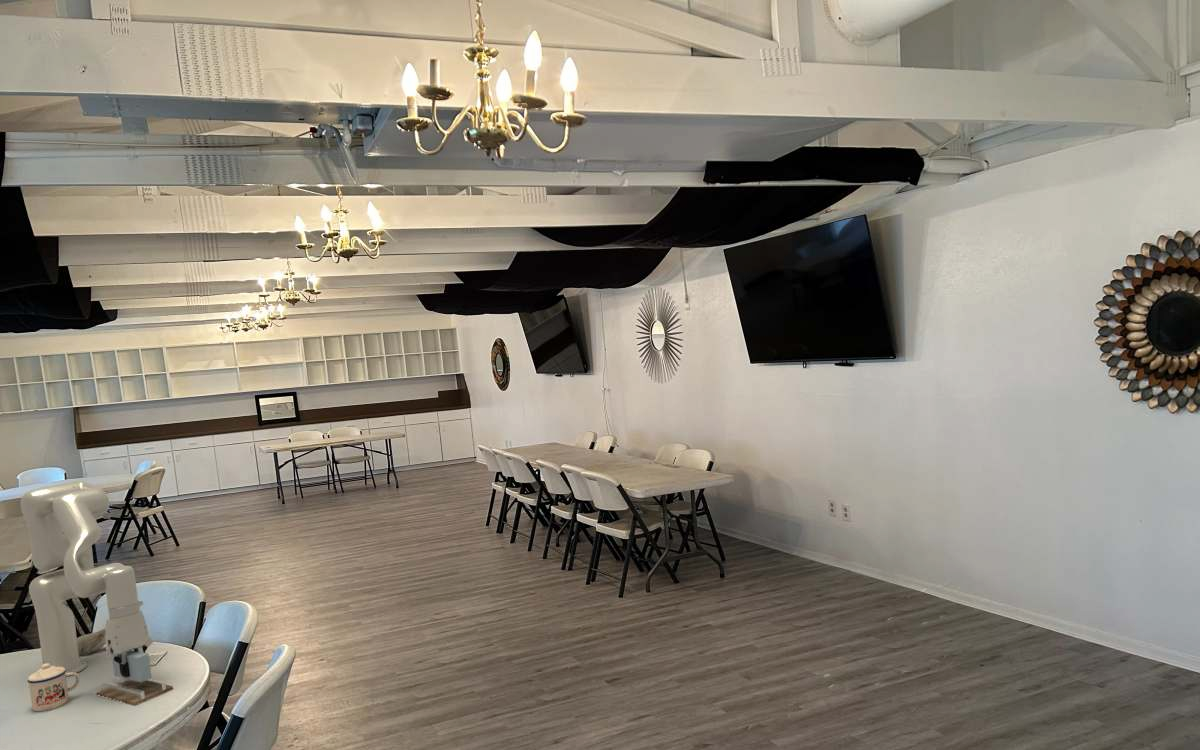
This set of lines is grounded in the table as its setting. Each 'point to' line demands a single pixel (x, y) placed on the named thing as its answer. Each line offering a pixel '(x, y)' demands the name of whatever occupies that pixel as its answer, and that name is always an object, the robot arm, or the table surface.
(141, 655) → the door panel
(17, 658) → the table surface
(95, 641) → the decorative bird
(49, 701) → the teacup with lid
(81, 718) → the table surface
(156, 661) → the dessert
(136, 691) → the bottom track
